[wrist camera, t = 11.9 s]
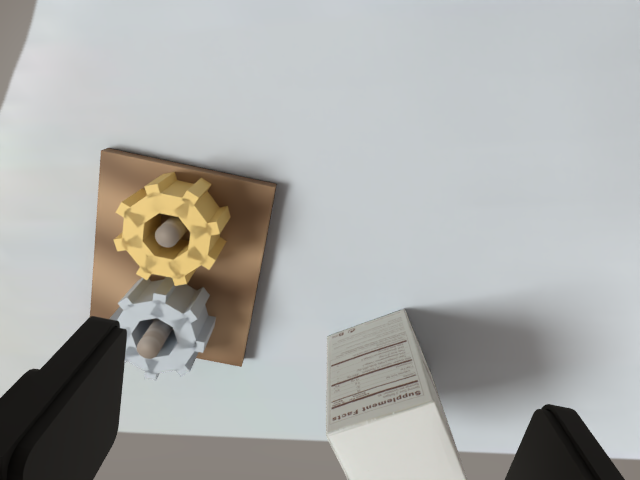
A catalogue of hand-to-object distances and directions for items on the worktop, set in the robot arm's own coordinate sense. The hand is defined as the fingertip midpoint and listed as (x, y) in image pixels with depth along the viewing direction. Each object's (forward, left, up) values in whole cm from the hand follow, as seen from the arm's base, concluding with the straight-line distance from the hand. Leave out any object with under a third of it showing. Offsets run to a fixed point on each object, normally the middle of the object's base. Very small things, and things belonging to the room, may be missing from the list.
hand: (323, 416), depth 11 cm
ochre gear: (+6, -10, -27) cm, 30 cm away
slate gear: (+14, -10, -27) cm, 32 cm away
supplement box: (+15, +8, -29) cm, 33 cm away
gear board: (+10, -10, -28) cm, 32 cm away
